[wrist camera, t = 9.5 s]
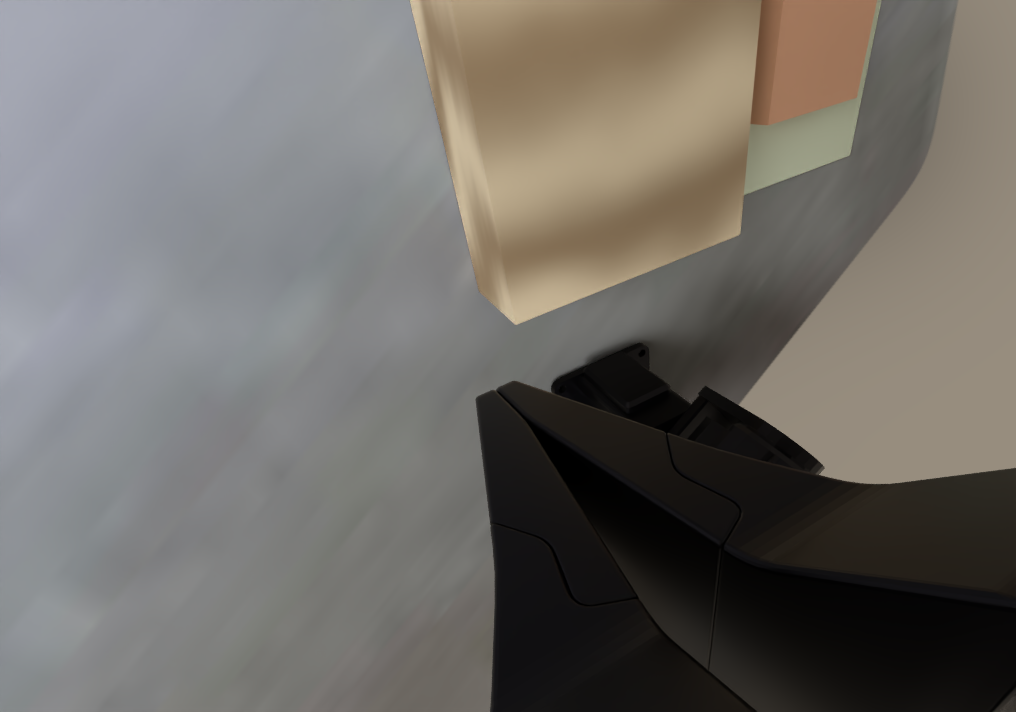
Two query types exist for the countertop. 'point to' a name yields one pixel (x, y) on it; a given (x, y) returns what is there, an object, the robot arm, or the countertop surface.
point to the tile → (808, 56)
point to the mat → (804, 138)
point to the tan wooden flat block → (590, 135)
